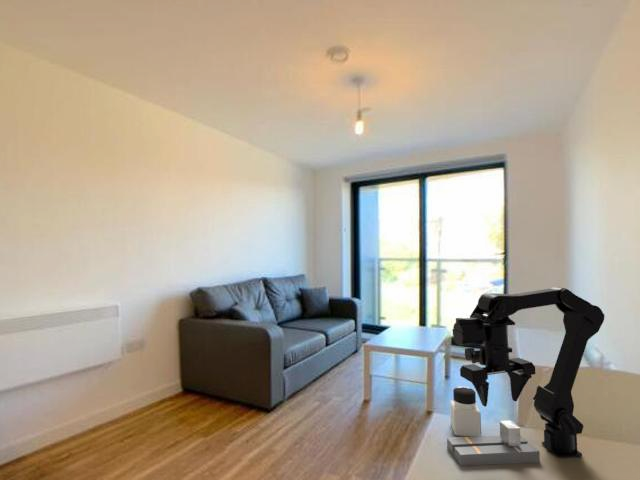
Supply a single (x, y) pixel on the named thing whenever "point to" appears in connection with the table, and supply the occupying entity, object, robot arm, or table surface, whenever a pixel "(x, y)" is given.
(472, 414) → the medicine bottle
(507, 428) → the fader tab
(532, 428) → the table surface
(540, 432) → the table surface
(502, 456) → the slider console
